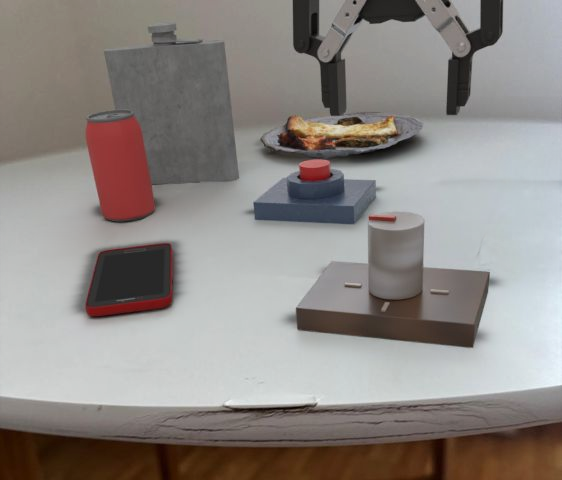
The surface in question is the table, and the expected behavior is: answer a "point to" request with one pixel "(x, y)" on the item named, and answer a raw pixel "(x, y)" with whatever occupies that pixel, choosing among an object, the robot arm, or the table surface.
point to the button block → (316, 200)
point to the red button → (314, 170)
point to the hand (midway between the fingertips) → (394, 113)
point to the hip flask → (178, 105)
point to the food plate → (341, 134)
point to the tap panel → (396, 306)
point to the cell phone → (131, 280)
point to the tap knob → (395, 254)
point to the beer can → (119, 165)
